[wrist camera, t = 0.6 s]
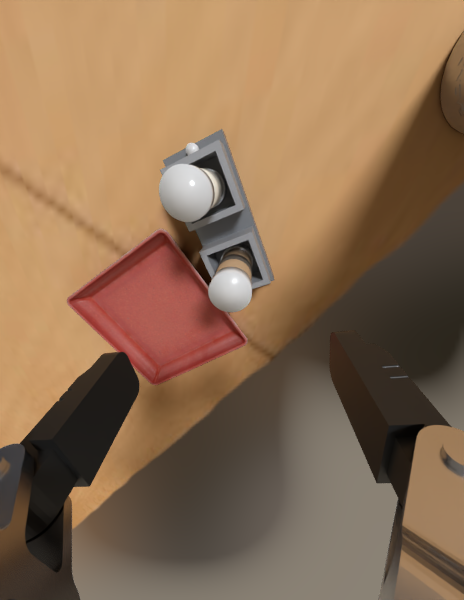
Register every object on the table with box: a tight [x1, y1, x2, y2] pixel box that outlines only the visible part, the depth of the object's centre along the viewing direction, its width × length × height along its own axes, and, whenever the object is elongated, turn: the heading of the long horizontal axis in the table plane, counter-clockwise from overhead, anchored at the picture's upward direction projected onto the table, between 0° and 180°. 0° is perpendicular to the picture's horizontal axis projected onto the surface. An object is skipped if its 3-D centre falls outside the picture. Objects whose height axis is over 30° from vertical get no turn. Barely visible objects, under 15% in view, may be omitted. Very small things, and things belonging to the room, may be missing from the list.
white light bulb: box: [159, 164, 226, 222], centre depth 20 cm, size 4×4×9 cm
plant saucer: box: [67, 229, 248, 385], centre depth 32 cm, size 18×18×3 cm
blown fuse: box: [208, 244, 253, 312], centre depth 23 cm, size 4×4×9 cm
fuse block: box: [160, 129, 274, 289], centre depth 24 cm, size 6×16×4 cm, turn 22°
